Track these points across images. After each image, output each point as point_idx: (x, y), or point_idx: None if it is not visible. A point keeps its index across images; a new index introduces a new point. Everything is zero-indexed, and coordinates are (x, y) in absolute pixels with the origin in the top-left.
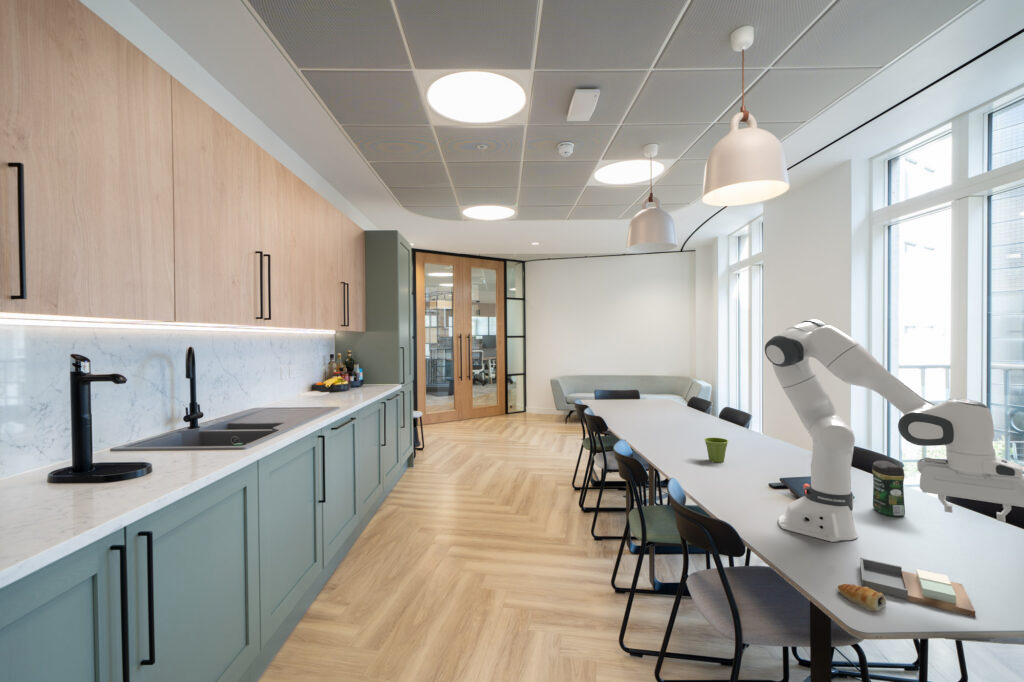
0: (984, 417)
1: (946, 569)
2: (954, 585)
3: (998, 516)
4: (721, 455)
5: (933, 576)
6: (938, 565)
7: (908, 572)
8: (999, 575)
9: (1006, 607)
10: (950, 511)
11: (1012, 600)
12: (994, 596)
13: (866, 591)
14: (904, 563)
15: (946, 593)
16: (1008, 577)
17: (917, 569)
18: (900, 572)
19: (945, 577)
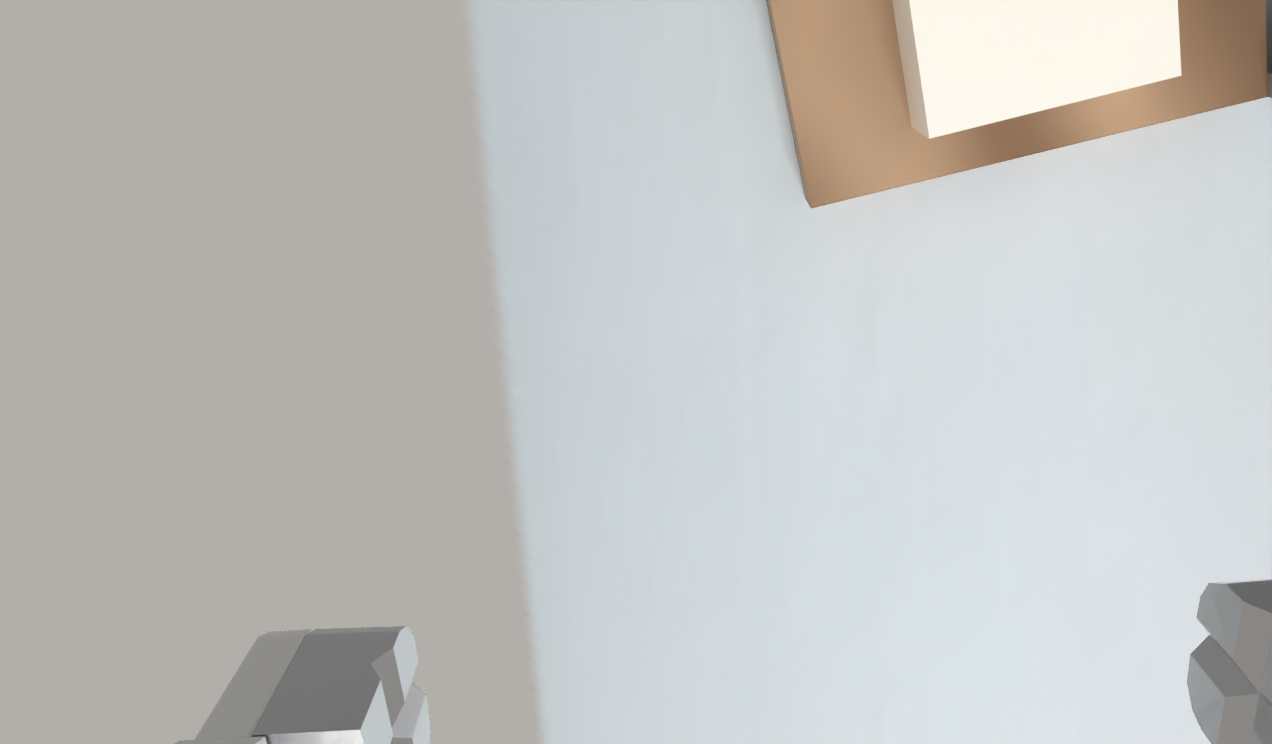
0: None
1: (910, 505)
2: (860, 123)
3: (347, 689)
4: None
5: (1040, 2)
6: (961, 539)
7: (1207, 109)
8: (615, 648)
9: (529, 91)
10: (1265, 586)
11: (512, 267)
12: (610, 243)
13: None
14: (1198, 391)
15: None
16: (569, 654)
17: (1173, 72)
18: (1269, 72)
19: (942, 73)
